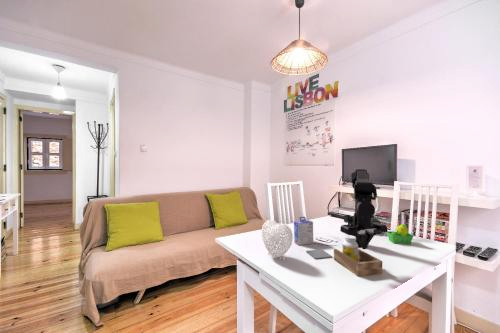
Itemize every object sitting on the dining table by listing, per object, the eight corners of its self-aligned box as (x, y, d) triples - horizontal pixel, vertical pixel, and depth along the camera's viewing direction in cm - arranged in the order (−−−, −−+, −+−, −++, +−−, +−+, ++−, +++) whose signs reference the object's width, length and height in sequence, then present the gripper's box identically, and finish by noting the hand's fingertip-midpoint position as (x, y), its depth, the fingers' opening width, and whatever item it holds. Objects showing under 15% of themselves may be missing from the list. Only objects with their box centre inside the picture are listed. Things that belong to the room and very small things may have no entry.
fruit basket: (406, 240, 131) (406, 221, 131) (415, 245, 123) (415, 225, 123) (385, 239, 133) (385, 220, 133) (393, 245, 124) (393, 224, 124)
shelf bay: (355, 257, 107) (355, 247, 107) (382, 273, 91) (382, 261, 91) (333, 259, 104) (333, 249, 104) (358, 276, 89) (358, 264, 89)
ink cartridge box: (308, 240, 131) (308, 215, 131) (313, 243, 126) (314, 217, 126) (293, 242, 128) (293, 217, 128) (298, 245, 123) (298, 219, 123)
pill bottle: (339, 259, 105) (340, 234, 105) (353, 259, 105) (353, 234, 105) (347, 265, 98) (347, 239, 98) (361, 265, 99) (361, 238, 99)
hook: (360, 230, 151) (360, 193, 151) (375, 230, 152) (375, 193, 152) (371, 235, 140) (371, 195, 140) (387, 235, 141) (387, 195, 141)
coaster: (321, 250, 116) (321, 249, 116) (332, 257, 107) (332, 256, 107) (305, 252, 114) (305, 250, 114) (315, 259, 105) (315, 257, 105)
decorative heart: (256, 254, 111) (256, 219, 111) (272, 249, 117) (272, 216, 117) (281, 267, 96) (281, 228, 96) (298, 261, 102) (298, 224, 102)
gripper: (368, 207, 103) (368, 240, 104) (332, 209, 99) (332, 244, 99) (388, 212, 93) (388, 249, 93) (349, 214, 88) (349, 254, 88)
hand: (363, 249), depth 94 cm, fingers closed
